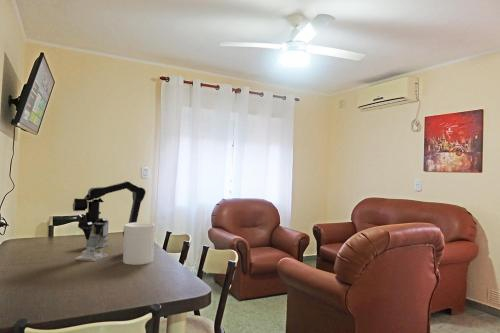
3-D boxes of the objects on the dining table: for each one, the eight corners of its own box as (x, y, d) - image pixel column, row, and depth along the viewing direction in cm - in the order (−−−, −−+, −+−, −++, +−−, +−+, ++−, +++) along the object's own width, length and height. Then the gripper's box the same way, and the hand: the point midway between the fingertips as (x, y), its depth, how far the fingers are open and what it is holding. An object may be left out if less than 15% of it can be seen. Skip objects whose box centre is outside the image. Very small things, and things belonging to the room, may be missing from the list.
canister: (144, 265, 176) (145, 227, 177) (116, 263, 180) (118, 225, 180) (158, 258, 192) (159, 223, 192) (133, 255, 195) (134, 221, 195)
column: (98, 247, 190) (98, 234, 190) (93, 248, 186) (94, 236, 186) (91, 246, 191) (91, 234, 191) (86, 248, 186) (86, 235, 187)
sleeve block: (107, 255, 194) (108, 248, 194) (95, 261, 182) (95, 253, 182) (88, 254, 195) (88, 247, 195) (75, 259, 183) (75, 252, 183)
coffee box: (108, 245, 218) (109, 220, 219) (102, 247, 212) (103, 222, 212) (94, 244, 219) (95, 219, 220) (89, 246, 213) (90, 221, 213)
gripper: (90, 207, 199) (89, 234, 199) (69, 211, 180) (68, 240, 180) (107, 208, 197) (106, 235, 197) (88, 212, 179) (87, 241, 179)
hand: (92, 238), depth 188 cm, fingers open, 9 cm apart
